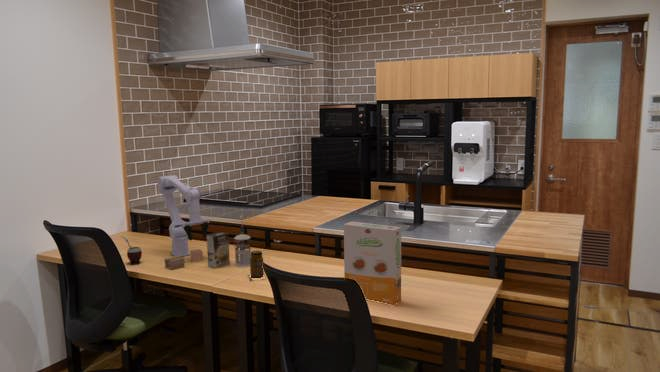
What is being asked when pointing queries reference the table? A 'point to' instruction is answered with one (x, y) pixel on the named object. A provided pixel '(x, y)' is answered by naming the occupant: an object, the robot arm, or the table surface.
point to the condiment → (256, 265)
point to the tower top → (174, 260)
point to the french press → (242, 251)
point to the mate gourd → (133, 254)
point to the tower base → (174, 266)
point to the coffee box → (218, 249)
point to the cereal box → (374, 260)
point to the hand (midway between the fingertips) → (197, 238)
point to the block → (196, 255)
